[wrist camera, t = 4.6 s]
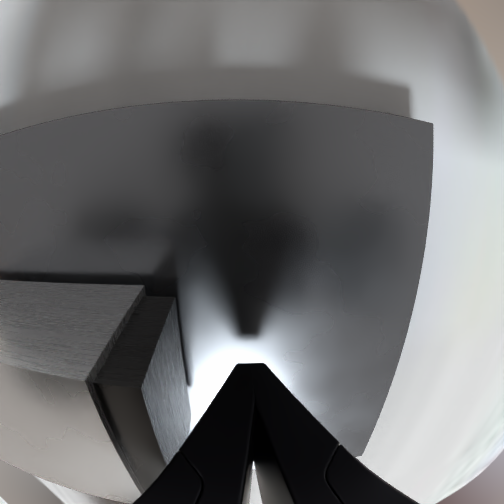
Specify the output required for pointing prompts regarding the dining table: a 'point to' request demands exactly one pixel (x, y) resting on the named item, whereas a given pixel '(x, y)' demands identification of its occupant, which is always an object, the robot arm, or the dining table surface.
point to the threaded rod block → (91, 385)
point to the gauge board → (238, 235)
